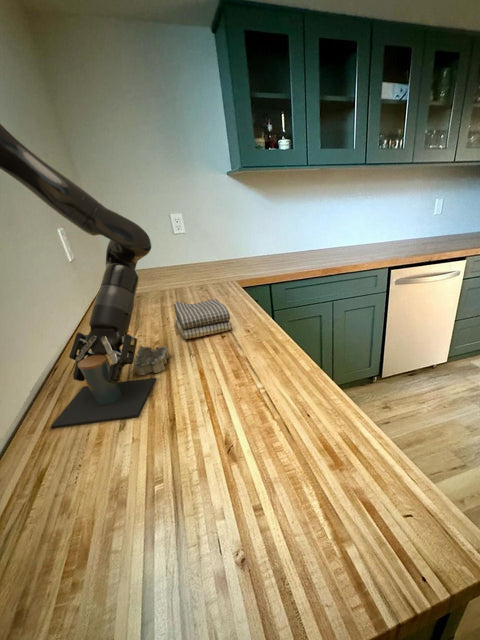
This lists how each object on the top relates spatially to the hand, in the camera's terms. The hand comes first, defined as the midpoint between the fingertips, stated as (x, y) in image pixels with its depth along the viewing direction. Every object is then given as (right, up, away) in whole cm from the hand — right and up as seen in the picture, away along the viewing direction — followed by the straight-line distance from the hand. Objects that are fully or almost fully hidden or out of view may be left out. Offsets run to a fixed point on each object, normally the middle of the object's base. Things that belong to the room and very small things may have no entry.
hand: (95, 381), depth 71 cm
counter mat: (+1, -5, +4) cm, 6 cm away
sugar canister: (+1, -4, +4) cm, 5 cm away
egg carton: (+5, +4, +17) cm, 19 cm away
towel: (+12, +16, +38) cm, 43 cm away
